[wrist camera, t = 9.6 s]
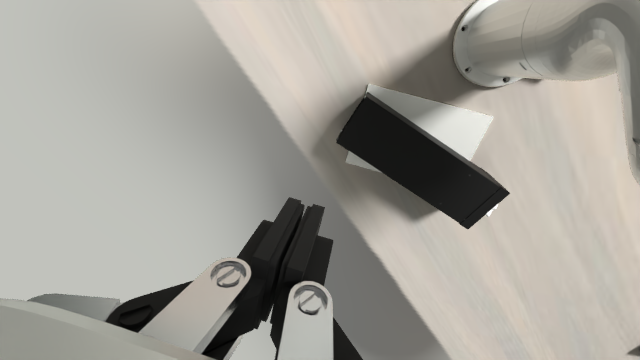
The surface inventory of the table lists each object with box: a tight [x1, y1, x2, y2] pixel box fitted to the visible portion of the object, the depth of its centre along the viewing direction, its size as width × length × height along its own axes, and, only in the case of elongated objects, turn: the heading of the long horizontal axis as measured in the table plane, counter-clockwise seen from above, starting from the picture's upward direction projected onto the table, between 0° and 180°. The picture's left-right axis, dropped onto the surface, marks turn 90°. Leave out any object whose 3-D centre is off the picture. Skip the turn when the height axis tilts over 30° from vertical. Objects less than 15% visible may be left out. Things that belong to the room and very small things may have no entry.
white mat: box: [345, 84, 493, 173], centre depth 43 cm, size 20×14×1 cm
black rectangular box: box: [336, 92, 510, 229], centre depth 40 cm, size 8×8×28 cm
